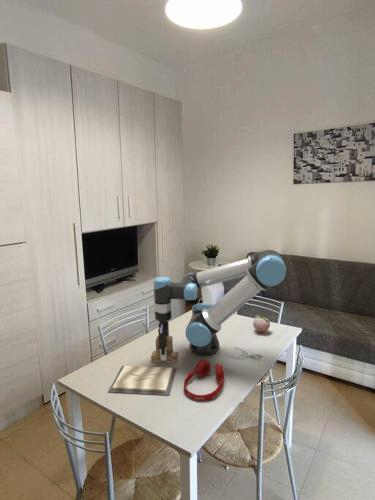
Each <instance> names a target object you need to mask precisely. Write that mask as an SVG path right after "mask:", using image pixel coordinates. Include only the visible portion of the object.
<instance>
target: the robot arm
mask: <svg viewBox="0 0 375 500" xmlns="http://www.w3.org/2000/svg"><path fill="white" fill-rule="evenodd" d="M286 272H287V266H286V264H285V261H284V258H283V257H282V255H281V254H280V253H279V252H278V251H276V250H273V249H267V250H263V251H259V252H256V253H252V254H249V255H248V256H247V258H243V259H240V260H236V261H233V262H229V263H225V264H222V265H218V266H216V267H212V268H208V269H205V270H202V271H198V272H195V273H193V272H188V273H186V274H185V275H184V276H182V279H181V280H180V281H179V282H172V281H171V278H170V277H168V276H159V277H156V278H155V279H154V280H153V295H154V296H153V297H154V303H153V305H152V306H154V318H155V320H156V321H157V322H159V323H158V329H157V330H158V331H157V332H158V336H159V347H158V348H159V349H160V355H161V360H162V361H167V353H166V336H170V333H169V332H170V329H169V328H170V327H169V321H170V320H171V319H172V300H176V301H177V300H179V301H180V300H181V301H196V299H197V297H198V289H201V288H205V287H208V286H213V285H215V284H220V283H224V282H227V281H230V280H235V279H238V278H241V277H243V278H242V279H241V280H240V281H239V282H237V283H236V285H234V286H233V287H232V288H231V289H230V290H229V291H227V292H226V293H225V294H224V295H223V296H222V297H221V298H219V300H218V301H216V302H215V303H214V304H212V303H204V302H201V303H195V304H193V305H192V307H191V318H190V320H189V321H188V323H187V326H185V327H186V328H185V338H186V339H187V341H188V343H189V345H188V346H189V351H190V352H191V353H192V354H193V355H197V356H204V357H207V356H212V355H216V354H217V353H218V352H219V351H220V347H221V346H220V342H219V339H218V336H217V333H218V332H220V331H221V329H222V324H223V323H225V322H226V321H227V320H228V319H230V317H232V316H233V315H234V314H235V313H237V312H238V311H239V310H240V309H241V308H242V307H243V306H244V305H246V304H247V303H248V302H249V301H251V299H253V298H254V297H255V296H256V295H257V294H258V293H259V292H261V291H268V290H269V289H270V288H271V287H274V286H277V285H279V284H280V283H281V282H283V281H284V280H285V277H286Z"/></svg>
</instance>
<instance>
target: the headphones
mask: <svg viewBox="0 0 375 500" xmlns="http://www.w3.org/2000/svg"><path fill="white" fill-rule="evenodd" d="M211 367H212V366H211V363H210V361H208V360H206V359H205V360H204V359H202V360H201V359H200V361H199V360H198V363H196V365H195V367H194V368H193V369H192V371H191V372H189V373H188V374H187V376H186V377H185V379H184V381H183V389H184V393H185V395H186V396H187V397H189V398H190V399H191V400H194V401H199V402H205V401H211V400H212V399H215V397H218V395H219V393H220V392H221V390H222V388H223V385H224V382H225V381H226V378H225V374H224V368H223V367H224V366H223V364H220V363H216V364H215V366H214V367H215V368H214V369H215V376H216V381H217V382H218V386H217V387H216V389H215V390H213V391H212V392H210V393H207V394H195V393H193V392H192V391H190V390H188V388H187V385H188V383H189V382H190V380H192V379H193V377H194V376H195V374H196V375H197V376H198V377H200V378H202V377H203V378H205V377H206V376H207V375H209V373H210V372H211Z"/></svg>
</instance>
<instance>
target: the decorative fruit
mask: <svg viewBox="0 0 375 500" xmlns="http://www.w3.org/2000/svg"><path fill="white" fill-rule="evenodd" d="M253 317H254V319H253V322H252V325H253V328H254V329H255V330H256V331H258V332H260V333H264V332H266V331H268V330H269V328H270V326H271V321H270V320H269V318H267V317H265V316H263V315H255V316H253Z"/></svg>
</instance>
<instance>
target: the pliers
mask: <svg viewBox="0 0 375 500" xmlns="http://www.w3.org/2000/svg"><path fill="white" fill-rule="evenodd" d="M233 349H236V350H240V351H241V352H242V354H239V355H232V354H231V355H229V354H227V357H229V358H231V359H232V358H233V359H241V360H242V359H248V358H249V359H253V360H256V359H257V361H261V359H262V358H263V354H260V353H256V352H250V351H248V350H247V349H244V348H241V347H237V346H234V347H233ZM245 354H246V355H245Z"/></svg>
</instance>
